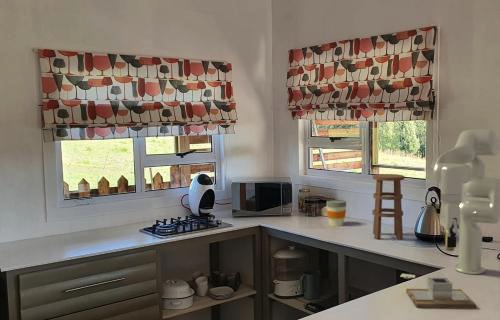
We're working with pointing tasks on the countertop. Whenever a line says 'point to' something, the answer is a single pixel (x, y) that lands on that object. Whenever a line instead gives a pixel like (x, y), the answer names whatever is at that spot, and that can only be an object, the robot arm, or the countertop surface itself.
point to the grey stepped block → (439, 291)
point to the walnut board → (441, 301)
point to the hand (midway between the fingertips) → (449, 245)
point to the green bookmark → (407, 276)
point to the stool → (397, 208)
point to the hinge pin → (446, 242)
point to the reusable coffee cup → (336, 212)
